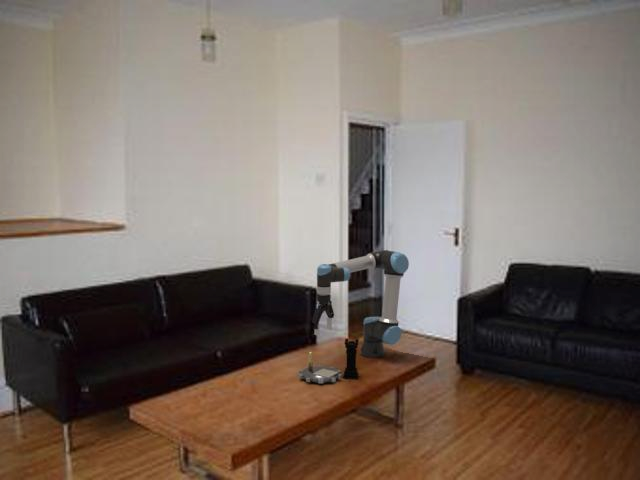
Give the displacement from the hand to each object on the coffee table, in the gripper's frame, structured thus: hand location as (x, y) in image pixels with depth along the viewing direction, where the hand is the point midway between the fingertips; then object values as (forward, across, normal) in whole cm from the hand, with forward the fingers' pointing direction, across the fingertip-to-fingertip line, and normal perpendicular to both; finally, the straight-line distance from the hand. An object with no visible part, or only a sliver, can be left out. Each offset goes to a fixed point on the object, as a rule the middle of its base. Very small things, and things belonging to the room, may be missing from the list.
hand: (323, 332), depth 315 cm
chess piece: (+23, -3, +16) cm, 28 cm away
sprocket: (+22, +8, +3) cm, 23 cm away
